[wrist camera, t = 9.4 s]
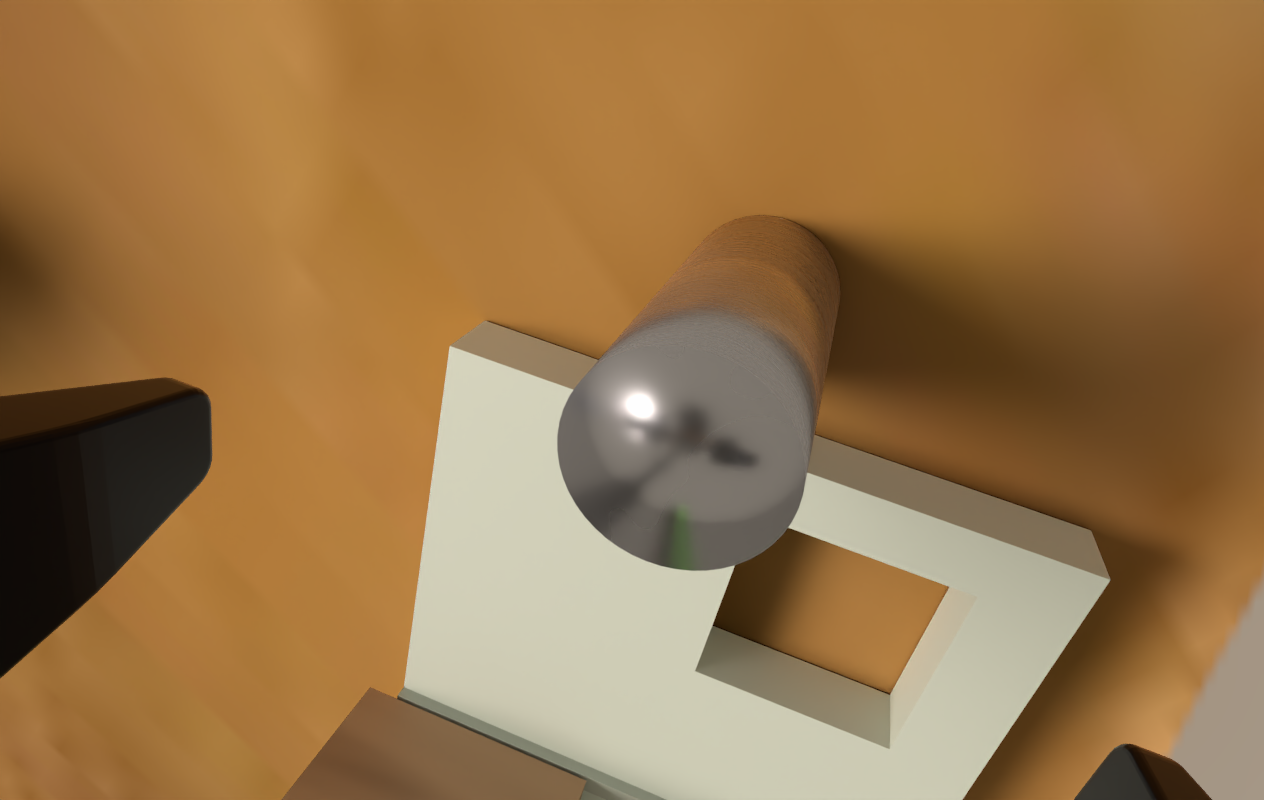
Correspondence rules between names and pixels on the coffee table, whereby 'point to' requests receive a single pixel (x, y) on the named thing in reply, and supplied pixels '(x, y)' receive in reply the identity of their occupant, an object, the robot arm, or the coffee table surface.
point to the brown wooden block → (423, 761)
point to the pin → (708, 402)
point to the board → (687, 606)
